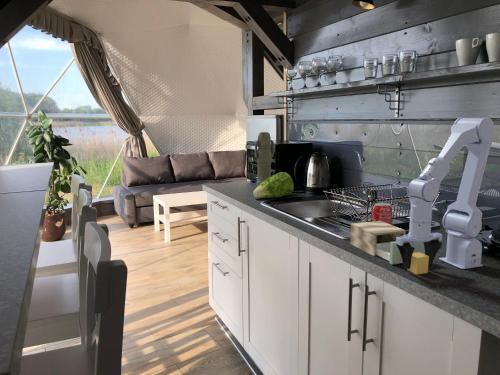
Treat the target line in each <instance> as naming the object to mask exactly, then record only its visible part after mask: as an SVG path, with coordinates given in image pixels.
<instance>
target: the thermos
mask: <svg viewBox="0 0 500 375" xmlns="http://www.w3.org/2000/svg"><path fill="white" fill-rule="evenodd" d="M274 146H275V144H274V140H272V139H271V134H270V132H266V131H264V132H263V131H260V132H259V133H258V136H257V140H256V141H255V142H254V158H255V159H256V163H257V179H256V188H257V187H258V186H259V185H260V184H261V183H262V182H263V181H264V180H266V179H268V178H270V177H271V176H272V172H271V171H272V159H273V158H274V156H275V154H274V152H275V151H274V150H275V148H274Z"/></svg>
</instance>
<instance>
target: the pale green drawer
mask: <svg viewBox="0 0 500 375" xmlns="http://www.w3.org/2000/svg"><path fill="white" fill-rule="evenodd" d="M410 245H411V247H414V248H415V249H414V251H413V253H417V252H420V253H422V254H425V248H424V243H423V242H419V243H410ZM376 256H378V257H380V258H382V259H384V260H386V261H388V262H389V264H390V265H398V264H399V265H400V264H403V261H402V257H401V254H400V252H399V249H398V247H397V246H396V242H394V241H392V242H383V243H381V242H376Z"/></svg>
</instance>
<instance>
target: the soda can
mask: <svg viewBox="0 0 500 375" xmlns="http://www.w3.org/2000/svg"><path fill="white" fill-rule="evenodd" d="M371 214H372V215H371V216H372V217H371V222H372V221H382V222H385V223H388V224H390V225H392V221H393V219H392V218H393V208H392V207H391V203H388V202H375V203H374V205H373V207H372V213H371Z"/></svg>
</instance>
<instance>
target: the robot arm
mask: <svg viewBox="0 0 500 375" xmlns="http://www.w3.org/2000/svg"><path fill="white" fill-rule="evenodd" d="M496 129H497V127H496V126H495V123H494V121H493V119H491V118H489V117H462V116H461V117H458V118H456V120H455V121H454V123H453V125H451V128H450V136H449V138H448V139H447V141H446V143H445V145H444V146H443V148H442V149H441V151H440V153H439V155H438V156H437V157H433V158H431V159H430V160H429V161H428V162H427V164H426V166H425V167H424V169H423V170H422V172H421V173H420V174H419V176H418V177H417V178H415V179H413V180H411V181H410V182H409V184H408V186H407V188H406V193H407V196H408V201H409V204H410V211H409V212H410V214H409V230H408V233H407V234H405V235H404V236H401V237H396V246H397V247H398V249H399V252H400V254H401V257H402V261H403V263H402V266H403V268H405V269H406V270H407V269H410V267H411V258H412V254H413V251H414V249H415V248H414V247H411V245H410V243H419V242H423V243H424V248H425V255H427V256H429V262H428V267H431V266H432V265H433V262H434V260H435V257H436V255H437V254H438V252H439V250H440V249H441V248H442V246H443V244H442V241H443V234H442V233H439V232H431V230H432V218H433V217H432V216H433V201H434V200H435V199H436V198H437V197H438V195H439V191H440V187H441V182H442V181H443V180H444V179H445V177H446V175H447V174H448V173H449V172H450V169H451V167H450V163H451V162H452V160H453V159H454V157H455V156H456V155H457V154H458V153H459V152H460V151H461V149H462V148H463V147H464V146H465V147H466V149H467V151H468V153H467V157H466V161H465V164H464V169H463V172H462V178H461V181H460V184H459V188H458V193H457V196H456V201H454V202H452V203H450V204H449V205H448V206H447V209H446V212H445V213H444V215H443V217H442V220H441V222H442V227H443V228H444V230H445V233H447V238H446V239H447V240H446V252H445V257H439V258H438V259H439V261H442V262H444V263H446V264H449V265H451V266H454V267H456V268H459V269H461V270H465V269H473V268H478V267H479V268H481V267H483V266H484V265H483V264H482V254H483V253H482V252H483V245H482V241H480V240H479V239H477V238H475V237H477V235H478V234H479V233H480V232H481V229H482V225H483V224H482V218H483V212H482V211H481V210H480V208H478V206H477V200H478V196H479V193H480V188H481V185H482V181H483V177H484V173H485V169H486V165H487V161H488V157H489V153H490V150H491V148H492V145H493V142H494V137H495V133H496ZM463 212H464V213H463Z"/></svg>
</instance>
